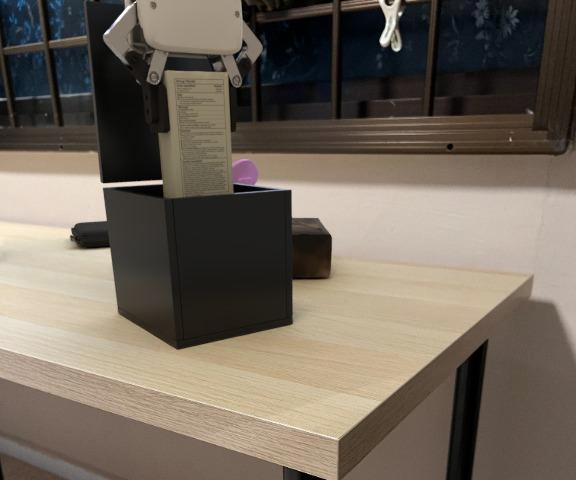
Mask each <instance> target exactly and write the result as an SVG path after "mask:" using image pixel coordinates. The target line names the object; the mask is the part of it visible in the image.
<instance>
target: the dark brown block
mask: <svg viewBox="0 0 576 480" xmlns="http://www.w3.org/2000/svg"><path fill="white" fill-rule="evenodd" d="M332 254H333V236H332V234H331V232H329V230H328V229H327V228H326V227H325V225H324V224H323V223H322V222H321V220H320V218H319V217H292V278H304V279H305V278H307V279H308V278H311V279H312V278H330V276H331V273H332Z"/></svg>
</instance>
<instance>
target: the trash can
mask: <svg viewBox="0 0 576 480" xmlns="http://www.w3.org/2000/svg"><path fill="white" fill-rule="evenodd" d="M292 191H293V190H292V189H290V188H281V187H272V186H265V185H256V184H255V185H248V184H240V183H233V193H230V194H217V195H204V196H191V197H177V198H164V192H163V183H154V184H153V183H152V184H138V185H137V184H136V185H122V186H106V187H105V186H104V187H102V193H103V194H102V195H103V201H104V209H105V217H106V221H107V227H108V235H109V243H110V246H109V250H110V258H111V266H112V274H113V282H114V290H115V297H116V298H115V299H116V306H117V313H118V314H119V315H121V316H122V317H124V318H126V320H129V321H131V322H132V323H134V324H135V325H137V326H139V327H140V328H142V329H143V330H145V331H147V332H149V333H150V334H151V335H153V336H155V337H156V338H158V339H160V340H161V341H164V342H165V343H166V344H168V345H169V346H171V347H172V348H175V349H176V350H180V349H184V348H190V347H195V346H197V345H204V344H208V343H213V342H217V341H221V340H226V339H230V338H236V337H239V336H244V335H248V334H253V333H257V332H263V331H267V330H271V329H275V328H280V327H281V328H282V327H284V326H288V325H293V324H294V319H293V318H294V317H293V316H294V310H293V309H294V308H293V307H294V303H293V302H294V300H293V299H294V298H293V295H294V294H293V293H294V292H293V291H294V289H293V277H292V218H293V201H292V200H293V193H292Z"/></svg>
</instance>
